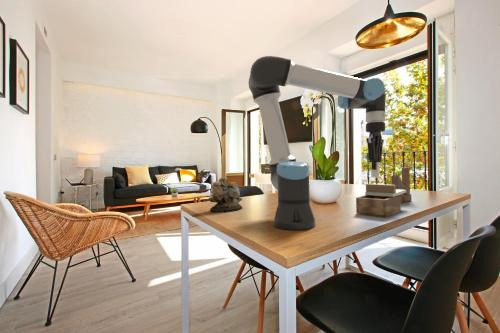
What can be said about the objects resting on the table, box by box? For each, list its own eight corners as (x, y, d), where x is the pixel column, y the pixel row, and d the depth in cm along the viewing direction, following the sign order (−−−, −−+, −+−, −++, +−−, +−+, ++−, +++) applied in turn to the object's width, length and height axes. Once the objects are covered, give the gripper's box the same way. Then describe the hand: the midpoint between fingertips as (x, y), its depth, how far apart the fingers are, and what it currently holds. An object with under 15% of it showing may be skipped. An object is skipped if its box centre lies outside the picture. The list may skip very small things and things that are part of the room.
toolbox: (356, 213, 109) (356, 197, 109) (372, 207, 120) (372, 193, 120) (386, 217, 100) (385, 200, 100) (400, 210, 112) (400, 195, 111)
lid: (365, 194, 115) (365, 184, 115) (379, 190, 126) (379, 181, 126) (393, 196, 106) (393, 185, 106) (406, 192, 118) (405, 182, 117)
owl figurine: (214, 214, 119) (212, 178, 119) (204, 211, 129) (203, 177, 129) (246, 209, 128) (245, 175, 128) (235, 206, 138) (234, 175, 138)
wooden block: (391, 202, 134) (391, 168, 133) (405, 200, 138) (404, 167, 138) (398, 203, 130) (397, 168, 130) (411, 201, 135) (411, 167, 134)
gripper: (378, 119, 102) (378, 178, 102) (390, 123, 110) (389, 177, 111) (360, 122, 107) (359, 177, 108) (372, 124, 116) (372, 176, 116)
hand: (375, 177), depth 109 cm, fingers closed
